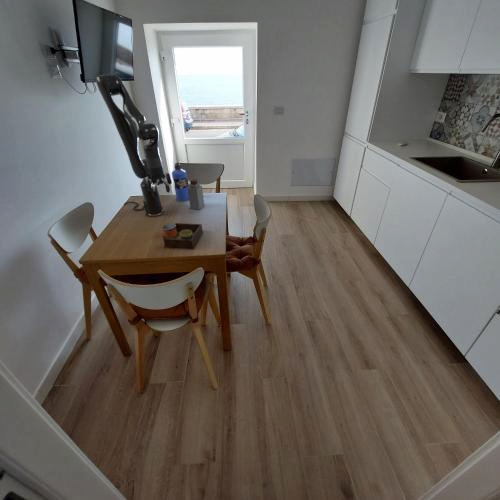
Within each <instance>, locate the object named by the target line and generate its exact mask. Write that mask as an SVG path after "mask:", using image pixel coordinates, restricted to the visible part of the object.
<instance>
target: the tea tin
mask: <svg viewBox="0 0 500 500" xmlns="http://www.w3.org/2000/svg"><path fill="white" fill-rule="evenodd" d="M192 237H193V232H192V231H191V230H189V229H184V230H182V231H180V232H179V238H180V239H190V240H191V238H192Z"/></svg>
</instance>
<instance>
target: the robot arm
mask: <svg viewBox="0 0 500 500" xmlns="http://www.w3.org/2000/svg"><path fill="white" fill-rule="evenodd" d="M95 83H96V86H97V88H98V91H99V93H100V95H101V97H102V99H103V101H104V103H105V105H106V107H107V109H108V111H109V113H110V116H111V119H112V121H113V123H114V125H115V128H116V130H117V133H118V135H119V137H120V139H121V142H122V144H123V146H124V150H125V152H126V154H127V157H128V160H129V164H130V166H131V169H132V171H133V173H134V175H135V177H137V178H138V179H141V180H142V181H141V182H140V184H139V187H140V191H141V193H142V197H143V200H142V203H143V206H142V207H141V208H137V207H138V206H139V205H140V204H139V203H138V202H137V201H136V202H135V201H126V202H124V204H123V205H124V206H125V205H127V204H136V205H135V206H134V207H133V210H134V211H143V210H144V211H145V215H146V216H149V217H158V216H161V215H163V213H164V210H163V209H164V208H163V206H162V202H161V198H160V193H159V189H158V186H160V185H163V184H164V185H165V186H164V187H165V191H166V193H170V192H171V188H170V185H172V183H173V181H172V178H171V175H170V173H168V172H165V170H164V166H163V162H162V157H161V154H160V150H159V137H160V136H159V128H158V126H157V125H156V124H155V123H152V122H149V123H146V118H145V115H144V114H143V113H142V112H141V110H140V109H139V108H138V106H137V105H136V103H135V102H134V100H133V99H132V97H131V95H130V93H129V92H128V90H127V88H126V86H125V84H124V83H123V80H122V79H121V78H120V76H118V75H117V74H116V73H107V74H99V75H97V76H95ZM119 95H120V97H121V98H122V110H121V108H120V107H119V106H118V105H117V103H116V102H115V100H114V99H113V97H114V96H119ZM139 140H140V141H143V142H144V141H149V142H148V143H146V144H145V145H144V146H143V153H144V155H145V158H143V159H141V156H140V154H139Z"/></svg>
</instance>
